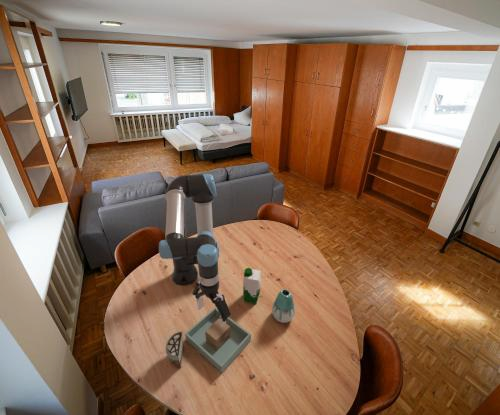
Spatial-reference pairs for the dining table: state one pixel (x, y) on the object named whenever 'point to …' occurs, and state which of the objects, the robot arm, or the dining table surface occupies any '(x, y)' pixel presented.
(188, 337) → the tote
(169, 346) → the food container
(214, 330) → the walnut block
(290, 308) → the vase
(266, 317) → the dining table surface
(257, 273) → the milk carton
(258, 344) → the dining table surface
